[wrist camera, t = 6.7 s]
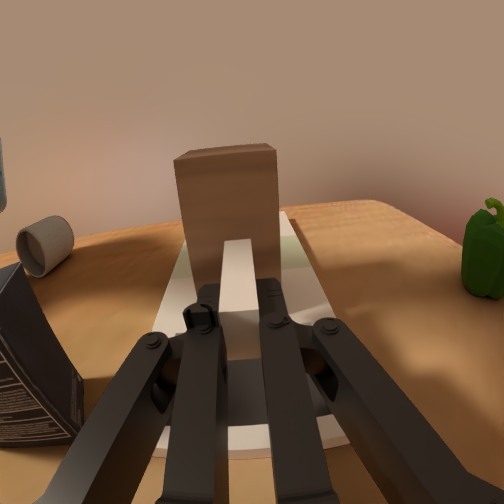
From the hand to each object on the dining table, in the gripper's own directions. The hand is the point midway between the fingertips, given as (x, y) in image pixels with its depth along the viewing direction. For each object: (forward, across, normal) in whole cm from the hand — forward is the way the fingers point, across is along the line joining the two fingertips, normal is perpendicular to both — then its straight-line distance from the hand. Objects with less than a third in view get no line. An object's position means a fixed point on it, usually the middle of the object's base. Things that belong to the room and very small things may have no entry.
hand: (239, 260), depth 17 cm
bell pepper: (+3, +26, -8) cm, 27 cm away
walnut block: (+5, 0, -6) cm, 7 cm away
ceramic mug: (+18, -31, -8) cm, 37 cm away
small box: (-8, -17, -8) cm, 20 cm away
